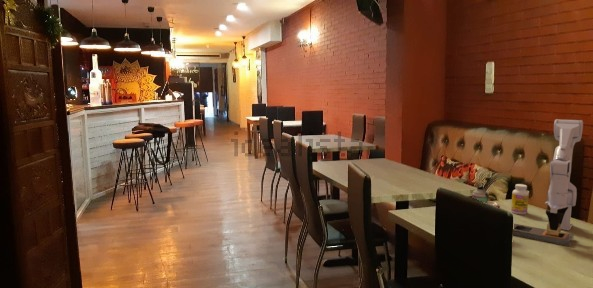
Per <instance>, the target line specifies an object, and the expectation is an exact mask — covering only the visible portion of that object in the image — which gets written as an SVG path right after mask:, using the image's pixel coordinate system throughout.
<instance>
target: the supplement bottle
mask: <svg viewBox="0 0 593 288" xmlns="http://www.w3.org/2000/svg"><path fill="white" fill-rule="evenodd" d="M514 188H515V189H513V190H512V192H511V193H512V194H511V204H510V205H511V208H510V211H511V213H512V214H516V215H526V214H527V213H528V208H529V207H528V206H529V196H530V195H529V194H530V193H529V192H528V190H527V189H528V185H526V184H523V183H516V184H515V186H514Z"/></svg>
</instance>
